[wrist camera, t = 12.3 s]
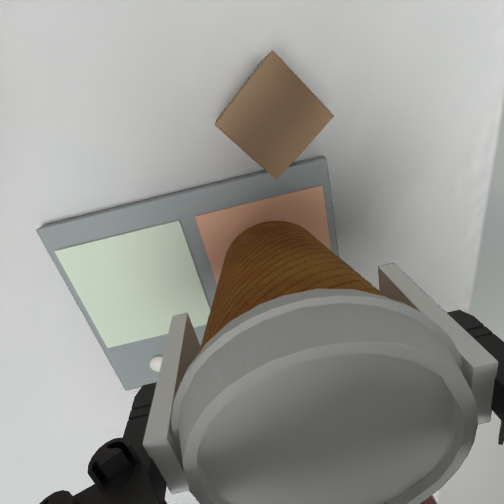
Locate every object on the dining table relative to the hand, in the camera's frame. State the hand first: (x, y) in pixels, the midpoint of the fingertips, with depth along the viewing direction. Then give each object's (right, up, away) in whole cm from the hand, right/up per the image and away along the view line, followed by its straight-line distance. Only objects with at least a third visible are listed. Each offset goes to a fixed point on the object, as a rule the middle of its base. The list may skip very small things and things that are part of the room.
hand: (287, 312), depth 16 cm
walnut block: (-1, +11, +3) cm, 11 cm away
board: (-5, +1, +7) cm, 8 cm away
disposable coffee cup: (0, +2, +4) cm, 5 cm away
